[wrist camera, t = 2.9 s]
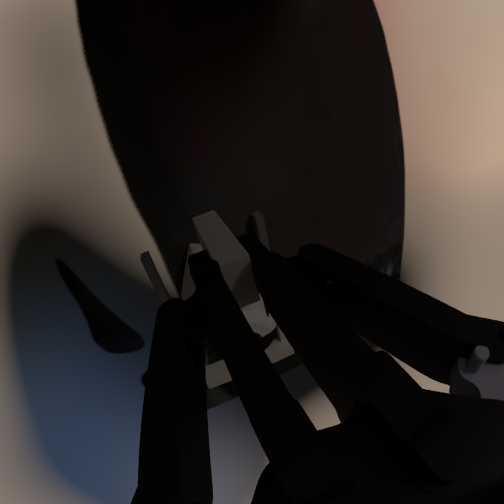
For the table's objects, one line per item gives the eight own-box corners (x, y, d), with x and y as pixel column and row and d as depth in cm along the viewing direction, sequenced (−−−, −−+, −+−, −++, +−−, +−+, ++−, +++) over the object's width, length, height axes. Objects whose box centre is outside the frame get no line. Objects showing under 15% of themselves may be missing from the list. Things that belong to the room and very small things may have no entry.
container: (234, 297, 38) (272, 366, 27) (180, 296, 35) (201, 372, 24) (248, 247, 35) (297, 308, 24) (188, 241, 32) (215, 310, 21)
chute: (140, 253, 30) (140, 271, 27) (258, 210, 33) (271, 222, 30) (203, 370, 43) (209, 388, 39) (283, 337, 46) (294, 353, 42)
